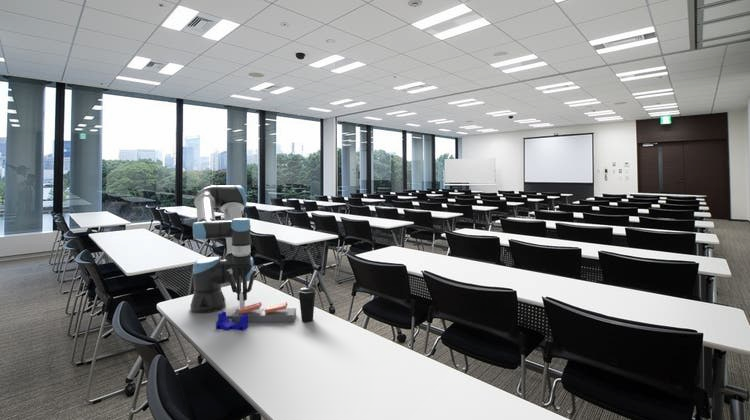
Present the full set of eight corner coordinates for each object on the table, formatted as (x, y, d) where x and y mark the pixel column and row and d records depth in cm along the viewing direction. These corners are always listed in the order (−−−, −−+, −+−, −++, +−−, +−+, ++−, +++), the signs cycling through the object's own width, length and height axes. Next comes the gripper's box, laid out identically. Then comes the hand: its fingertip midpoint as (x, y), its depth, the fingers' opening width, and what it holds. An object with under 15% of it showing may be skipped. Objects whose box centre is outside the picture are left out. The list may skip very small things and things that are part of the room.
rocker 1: (239, 314, 154) (238, 311, 154) (242, 310, 159) (241, 307, 158) (259, 308, 155) (258, 305, 154) (261, 304, 159) (260, 301, 159)
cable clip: (216, 329, 148) (215, 315, 147) (223, 324, 152) (222, 311, 151) (241, 332, 145) (241, 318, 144) (248, 328, 149) (247, 314, 148)
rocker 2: (265, 313, 155) (264, 310, 155) (267, 309, 159) (266, 306, 159) (285, 308, 155) (285, 305, 155) (287, 305, 160) (286, 301, 160)
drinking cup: (318, 317, 160) (317, 273, 158) (313, 324, 153) (313, 278, 151) (301, 316, 161) (300, 272, 159) (296, 323, 154) (295, 277, 151)
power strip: (219, 324, 152) (218, 316, 152) (225, 316, 160) (225, 309, 160) (293, 322, 154) (293, 315, 154) (296, 314, 162) (295, 307, 162)
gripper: (222, 256, 149) (224, 311, 152) (254, 256, 150) (255, 310, 153) (228, 252, 157) (229, 304, 159) (259, 252, 158) (259, 304, 160)
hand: (242, 307), depth 156 cm, fingers closed
